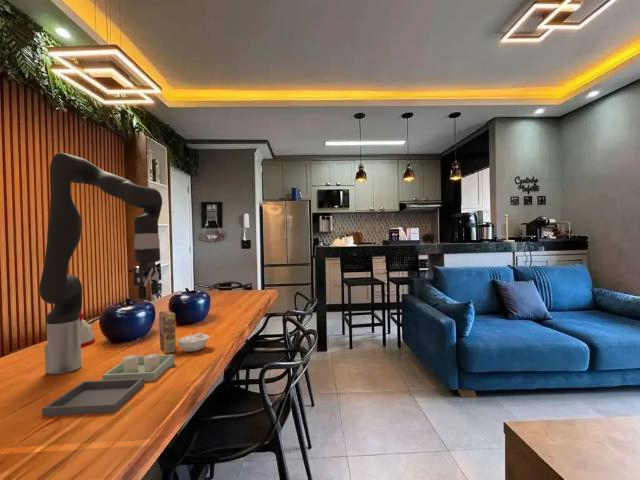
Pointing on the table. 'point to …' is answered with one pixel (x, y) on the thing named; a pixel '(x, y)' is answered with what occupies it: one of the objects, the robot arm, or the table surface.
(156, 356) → the pebble
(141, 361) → the shallow green tray
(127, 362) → the pebble
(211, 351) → the table surface
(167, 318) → the candy box
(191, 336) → the cell model
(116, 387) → the parts tray
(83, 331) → the kitchen timer
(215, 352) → the table surface
